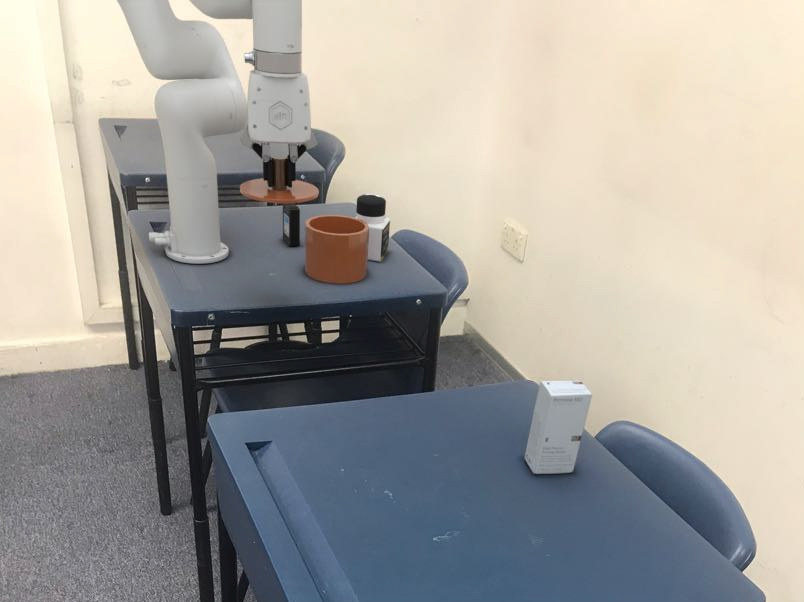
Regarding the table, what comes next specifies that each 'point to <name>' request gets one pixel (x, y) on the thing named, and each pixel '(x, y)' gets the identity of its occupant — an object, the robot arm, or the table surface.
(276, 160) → the lid
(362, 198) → the medicine bottle
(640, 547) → the table surface
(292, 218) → the ink cartridge
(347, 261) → the terracotta pot
